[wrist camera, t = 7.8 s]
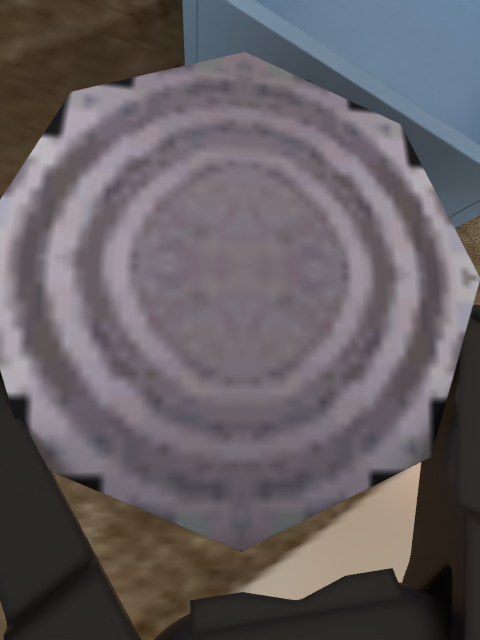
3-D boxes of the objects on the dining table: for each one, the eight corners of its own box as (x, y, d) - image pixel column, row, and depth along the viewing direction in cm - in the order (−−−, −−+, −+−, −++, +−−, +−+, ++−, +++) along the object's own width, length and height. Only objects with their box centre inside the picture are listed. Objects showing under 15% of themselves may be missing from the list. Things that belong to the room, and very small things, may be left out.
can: (72, 387, 19) (-143, 432, 7) (152, 188, 20) (92, -54, 8) (282, 457, 20) (415, 606, 8) (344, 261, 21) (531, 133, 9)
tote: (184, 75, 21) (180, -30, 16) (327, -129, 24) (369, -283, 18) (440, 236, 22) (525, 192, 16) (550, 21, 25) (657, -82, 19)
